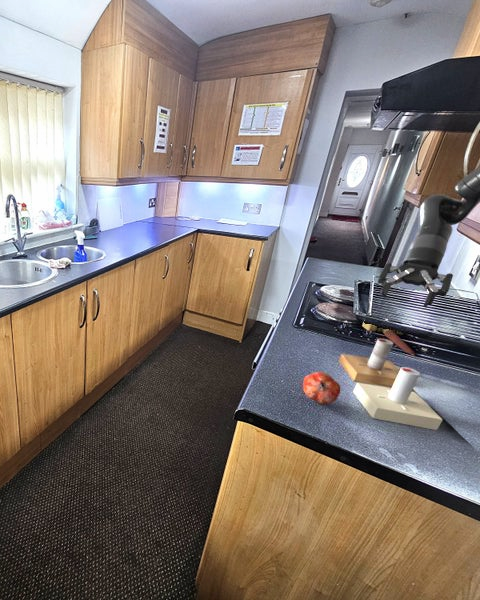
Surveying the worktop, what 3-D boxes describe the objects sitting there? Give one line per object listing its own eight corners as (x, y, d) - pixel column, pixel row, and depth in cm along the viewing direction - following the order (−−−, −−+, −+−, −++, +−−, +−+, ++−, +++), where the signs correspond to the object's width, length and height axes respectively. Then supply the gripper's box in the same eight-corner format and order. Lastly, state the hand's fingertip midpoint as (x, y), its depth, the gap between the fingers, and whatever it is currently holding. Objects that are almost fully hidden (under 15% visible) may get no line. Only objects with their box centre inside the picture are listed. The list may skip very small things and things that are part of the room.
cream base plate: (409, 401, 81) (415, 391, 80) (437, 430, 72) (443, 419, 71) (352, 391, 84) (357, 381, 83) (372, 418, 75) (377, 407, 74)
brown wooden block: (386, 370, 94) (390, 360, 92) (407, 391, 85) (412, 381, 84) (338, 362, 97) (341, 353, 96) (353, 382, 88) (357, 372, 87)
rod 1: (378, 364, 91) (389, 338, 88) (384, 370, 88) (396, 344, 85) (364, 362, 92) (375, 336, 88) (370, 368, 89) (381, 342, 86)
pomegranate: (299, 393, 87) (292, 386, 80) (316, 370, 86) (310, 362, 79) (330, 412, 81) (325, 407, 74) (348, 388, 80) (345, 381, 74)
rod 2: (401, 396, 78) (415, 367, 75) (409, 405, 75) (424, 375, 72) (384, 393, 79) (398, 364, 76) (392, 402, 76) (406, 372, 73)
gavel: (439, 356, 95) (398, 351, 98) (432, 368, 97) (391, 363, 100) (399, 320, 113) (365, 316, 115) (394, 331, 115) (360, 327, 117)
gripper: (394, 241, 96) (373, 286, 93) (465, 251, 87) (445, 301, 84) (389, 256, 101) (370, 299, 99) (456, 266, 92) (436, 314, 89)
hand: (404, 300), depth 91 cm, fingers open, 8 cm apart
